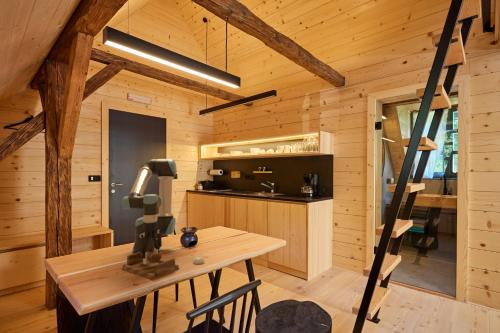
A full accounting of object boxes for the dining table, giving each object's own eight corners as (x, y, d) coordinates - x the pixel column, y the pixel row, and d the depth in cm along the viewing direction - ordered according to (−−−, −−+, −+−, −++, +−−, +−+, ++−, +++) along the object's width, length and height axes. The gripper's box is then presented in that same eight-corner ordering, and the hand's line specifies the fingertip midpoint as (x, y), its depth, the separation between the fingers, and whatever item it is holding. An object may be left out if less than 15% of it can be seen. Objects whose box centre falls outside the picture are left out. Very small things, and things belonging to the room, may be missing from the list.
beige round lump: (190, 263, 162) (190, 258, 162) (198, 260, 168) (198, 255, 168) (198, 265, 159) (198, 260, 159) (205, 262, 164) (205, 257, 164)
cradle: (122, 269, 152) (122, 257, 152) (149, 260, 167) (149, 248, 167) (152, 280, 137) (152, 267, 137) (179, 269, 153) (179, 257, 152)
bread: (151, 265, 145) (150, 255, 144) (139, 258, 159) (138, 249, 159) (162, 262, 149) (161, 252, 149) (149, 255, 163) (148, 246, 163)
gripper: (139, 225, 142) (139, 268, 142) (168, 219, 158) (168, 258, 158) (131, 223, 146) (131, 265, 146) (160, 218, 162) (160, 256, 162)
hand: (150, 261), depth 152 cm, fingers closed on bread, 6 cm apart
